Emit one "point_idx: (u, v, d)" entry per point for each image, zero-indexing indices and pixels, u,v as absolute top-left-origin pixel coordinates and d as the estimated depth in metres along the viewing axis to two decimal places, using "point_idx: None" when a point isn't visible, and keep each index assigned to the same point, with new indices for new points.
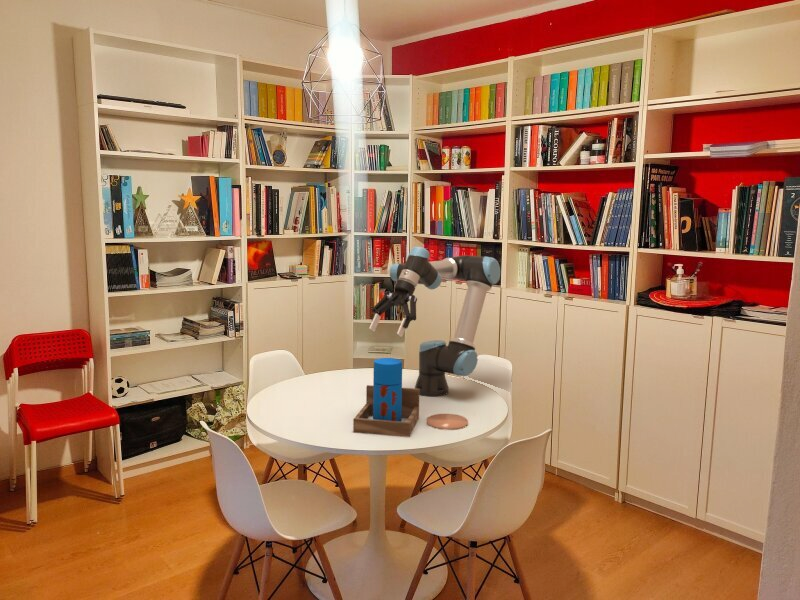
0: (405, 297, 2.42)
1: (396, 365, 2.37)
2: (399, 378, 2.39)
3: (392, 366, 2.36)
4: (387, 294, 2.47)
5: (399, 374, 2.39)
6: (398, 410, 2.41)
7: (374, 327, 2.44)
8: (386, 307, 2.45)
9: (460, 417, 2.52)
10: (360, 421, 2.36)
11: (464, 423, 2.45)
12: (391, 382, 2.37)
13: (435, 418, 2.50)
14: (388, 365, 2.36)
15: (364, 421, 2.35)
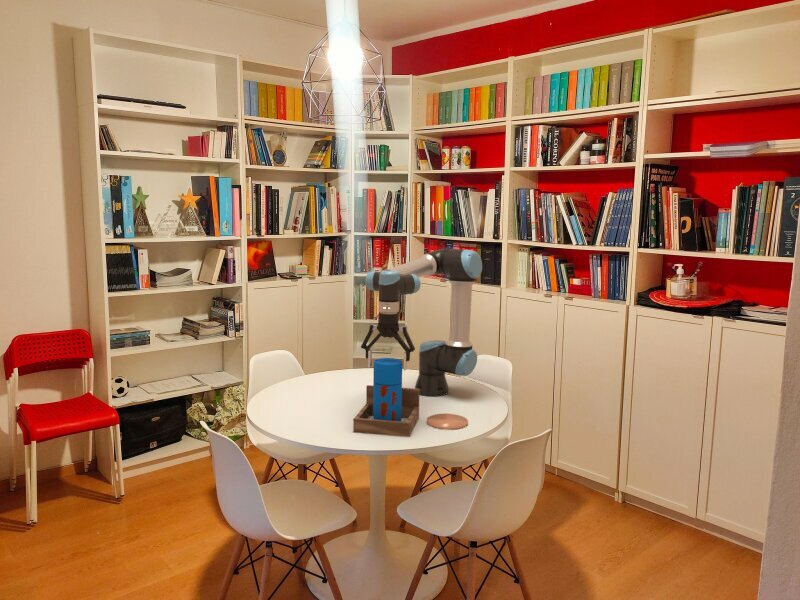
0: (395, 330, 2.38)
1: (396, 365, 2.37)
2: (399, 378, 2.39)
3: (392, 366, 2.36)
4: (372, 328, 2.39)
5: (399, 374, 2.39)
6: (398, 410, 2.41)
7: (371, 363, 2.43)
8: None
9: (460, 417, 2.52)
10: (360, 421, 2.36)
11: (464, 423, 2.45)
12: (391, 382, 2.37)
13: (435, 418, 2.50)
14: (388, 365, 2.36)
15: (364, 421, 2.35)
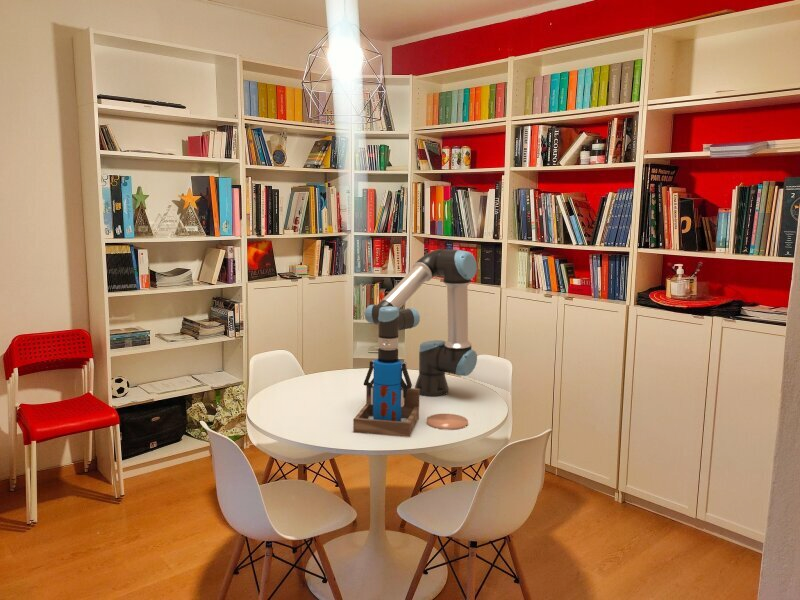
0: None
1: (396, 365, 2.37)
2: (399, 378, 2.39)
3: (392, 366, 2.36)
4: (372, 364, 2.41)
5: (399, 374, 2.39)
6: (398, 410, 2.41)
7: None
8: None
9: (460, 417, 2.52)
10: (360, 421, 2.36)
11: (464, 423, 2.45)
12: (391, 382, 2.37)
13: (435, 418, 2.50)
14: (388, 365, 2.36)
15: (364, 421, 2.35)
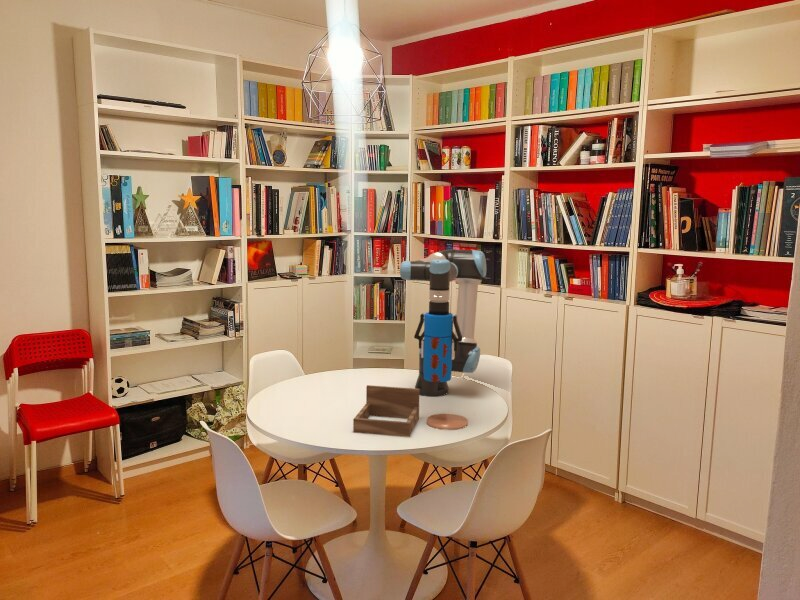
0: None
1: (447, 317, 2.37)
2: (450, 330, 2.39)
3: (443, 318, 2.37)
4: (423, 317, 2.42)
5: (450, 326, 2.39)
6: (449, 362, 2.41)
7: None
8: None
9: (460, 417, 2.52)
10: (360, 421, 2.36)
11: (464, 423, 2.45)
12: (442, 334, 2.37)
13: (435, 418, 2.50)
14: (439, 317, 2.36)
15: (364, 421, 2.35)
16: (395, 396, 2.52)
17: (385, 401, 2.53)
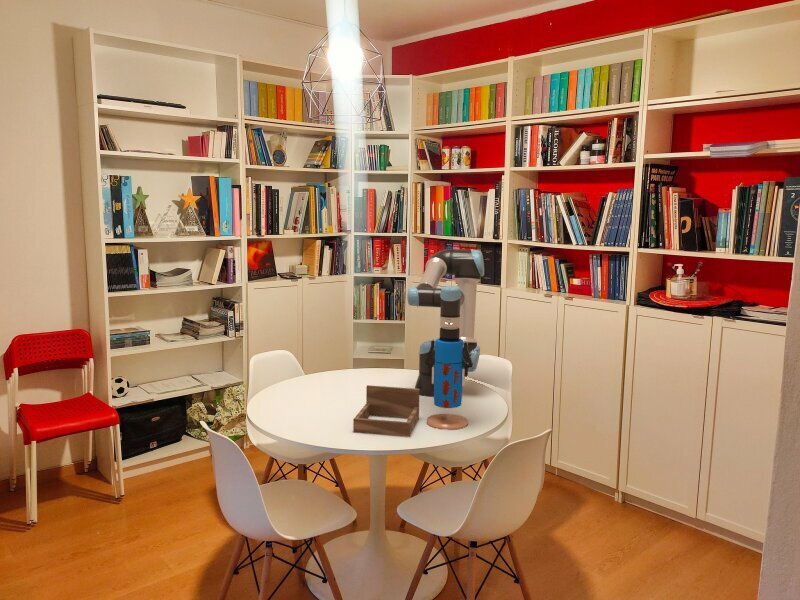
0: None
1: (458, 344, 2.40)
2: (461, 357, 2.41)
3: (455, 345, 2.39)
4: (434, 343, 2.44)
5: (461, 353, 2.41)
6: (460, 388, 2.43)
7: None
8: None
9: (460, 417, 2.52)
10: (360, 421, 2.36)
11: (464, 423, 2.45)
12: (453, 361, 2.39)
13: (435, 418, 2.50)
14: (451, 344, 2.39)
15: (364, 421, 2.35)
16: (395, 396, 2.52)
17: (385, 401, 2.53)
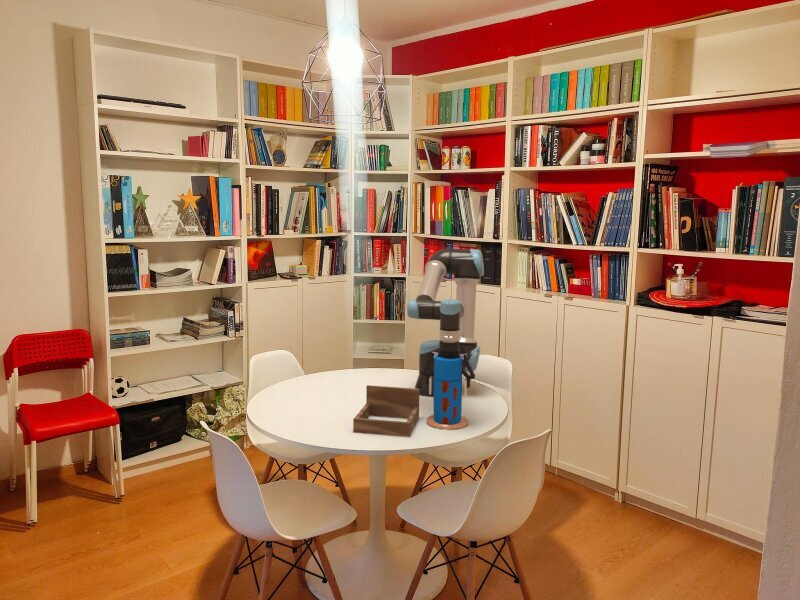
0: (456, 357, 2.43)
1: (457, 361, 2.40)
2: (460, 374, 2.42)
3: (453, 362, 2.40)
4: (433, 356, 2.45)
5: (460, 370, 2.42)
6: (459, 405, 2.44)
7: (431, 389, 2.48)
8: None
9: None
10: (360, 421, 2.36)
11: (464, 423, 2.45)
12: (452, 378, 2.40)
13: None
14: (450, 361, 2.39)
15: (364, 421, 2.35)
16: (395, 396, 2.52)
17: (385, 401, 2.53)
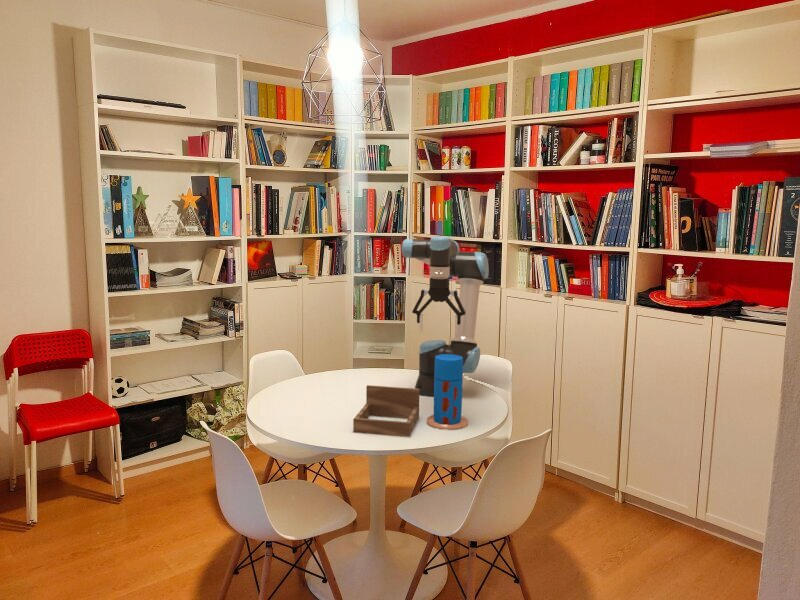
0: (447, 294, 2.43)
1: (458, 361, 2.41)
2: (460, 374, 2.42)
3: (454, 362, 2.40)
4: (423, 293, 2.45)
5: (460, 370, 2.42)
6: (459, 405, 2.44)
7: None
8: (427, 305, 2.46)
9: None
10: (360, 421, 2.36)
11: (464, 423, 2.45)
12: (453, 378, 2.40)
13: None
14: (450, 361, 2.40)
15: (364, 421, 2.35)
16: (395, 396, 2.52)
17: (385, 401, 2.53)
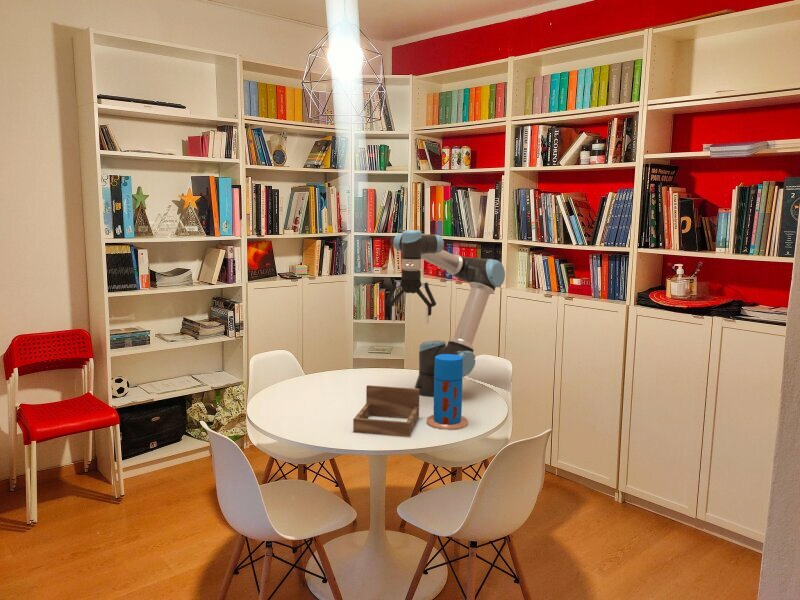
0: (418, 286, 2.52)
1: (458, 361, 2.41)
2: (460, 374, 2.43)
3: (454, 362, 2.40)
4: (396, 284, 2.54)
5: (460, 370, 2.42)
6: (459, 405, 2.44)
7: (394, 318, 2.57)
8: None
9: None
10: (360, 421, 2.36)
11: (464, 423, 2.45)
12: (452, 378, 2.41)
13: None
14: (450, 361, 2.40)
15: (364, 421, 2.35)
16: (395, 396, 2.52)
17: (385, 401, 2.53)
